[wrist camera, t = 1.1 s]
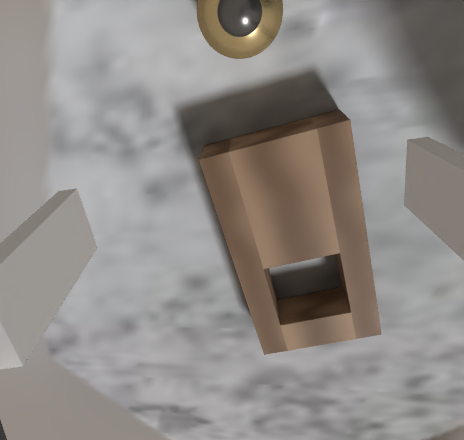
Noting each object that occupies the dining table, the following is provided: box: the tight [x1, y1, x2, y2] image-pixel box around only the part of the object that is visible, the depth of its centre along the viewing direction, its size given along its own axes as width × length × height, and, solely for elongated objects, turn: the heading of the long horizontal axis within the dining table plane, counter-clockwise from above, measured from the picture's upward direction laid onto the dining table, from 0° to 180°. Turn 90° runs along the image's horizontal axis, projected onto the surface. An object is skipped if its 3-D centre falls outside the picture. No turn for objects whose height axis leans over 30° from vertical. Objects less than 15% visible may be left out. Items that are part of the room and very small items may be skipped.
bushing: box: [197, 0, 283, 59], centre depth 26 cm, size 5×5×8 cm
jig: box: [199, 109, 381, 355], centre depth 36 cm, size 12×22×4 cm, turn 16°
